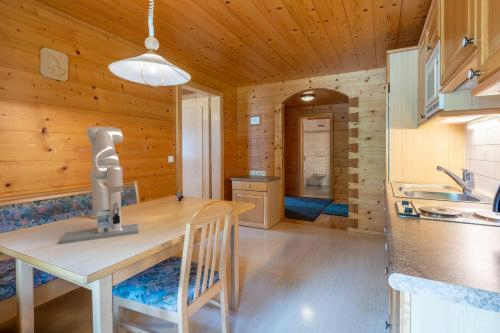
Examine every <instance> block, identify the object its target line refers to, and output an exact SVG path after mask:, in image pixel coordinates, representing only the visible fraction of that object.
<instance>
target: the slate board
mask: <svg viewBox="0 0 500 333" xmlns="http://www.w3.org/2000/svg"><path fill="white" fill-rule="evenodd" d="M134 234H135V235H137V234H139V228H138V223H133V224H132V223H131V224H125V225H121V231H113V232H104V233H98V228H91V229H84V230H76V231H67V232H65V233H64V234H63V236H62V237H61V238H60V241H59V244H60V245H64V244H70V243H77V242H85V241H90V240H98V239H99V240H100V239H107V238H108V239H109V238H115V237H120V236H122V237H123V236H128V235H129V236H130V235H134Z"/></svg>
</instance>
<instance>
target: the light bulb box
mask: <svg viewBox="0 0 500 333" xmlns="http://www.w3.org/2000/svg"><path fill="white" fill-rule="evenodd" d="M97 214H98V219H97V229H98V233H104V232H113V231H121V226H122V213H121V209H120V211H119V216H120V223H119V224H113V211H111V212H110V208H109V209H107V210H99V211H98V213H97Z"/></svg>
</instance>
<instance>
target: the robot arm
mask: <svg viewBox="0 0 500 333" xmlns="http://www.w3.org/2000/svg"><path fill="white" fill-rule="evenodd" d="M86 136H87V140H88V142H89V144H90V147H91V149H90V151H91V155H90V156H91V170H90V171H89V174H88V175H89V181H90V186H91V200H92V214H91V215H90V216H89V217H90V218H91V219H95V220H98V214H97V213H98V211H99V210H107V209H110V212H111V211H113V224H119V223H120V216H119V211H120V210H121V209H122V193H123V192H124V182H123V181H124V180H123V177H124V176H123V174H124V172H123V167H122V166H121V165H120V158H119V154H118V153H117V152H116V148H115V144H121V143H122V142H123V141H124V134H123V131H122V129H120V128H118V127H114V126H89V127H87V129H86ZM105 184H106V185H105Z"/></svg>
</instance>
